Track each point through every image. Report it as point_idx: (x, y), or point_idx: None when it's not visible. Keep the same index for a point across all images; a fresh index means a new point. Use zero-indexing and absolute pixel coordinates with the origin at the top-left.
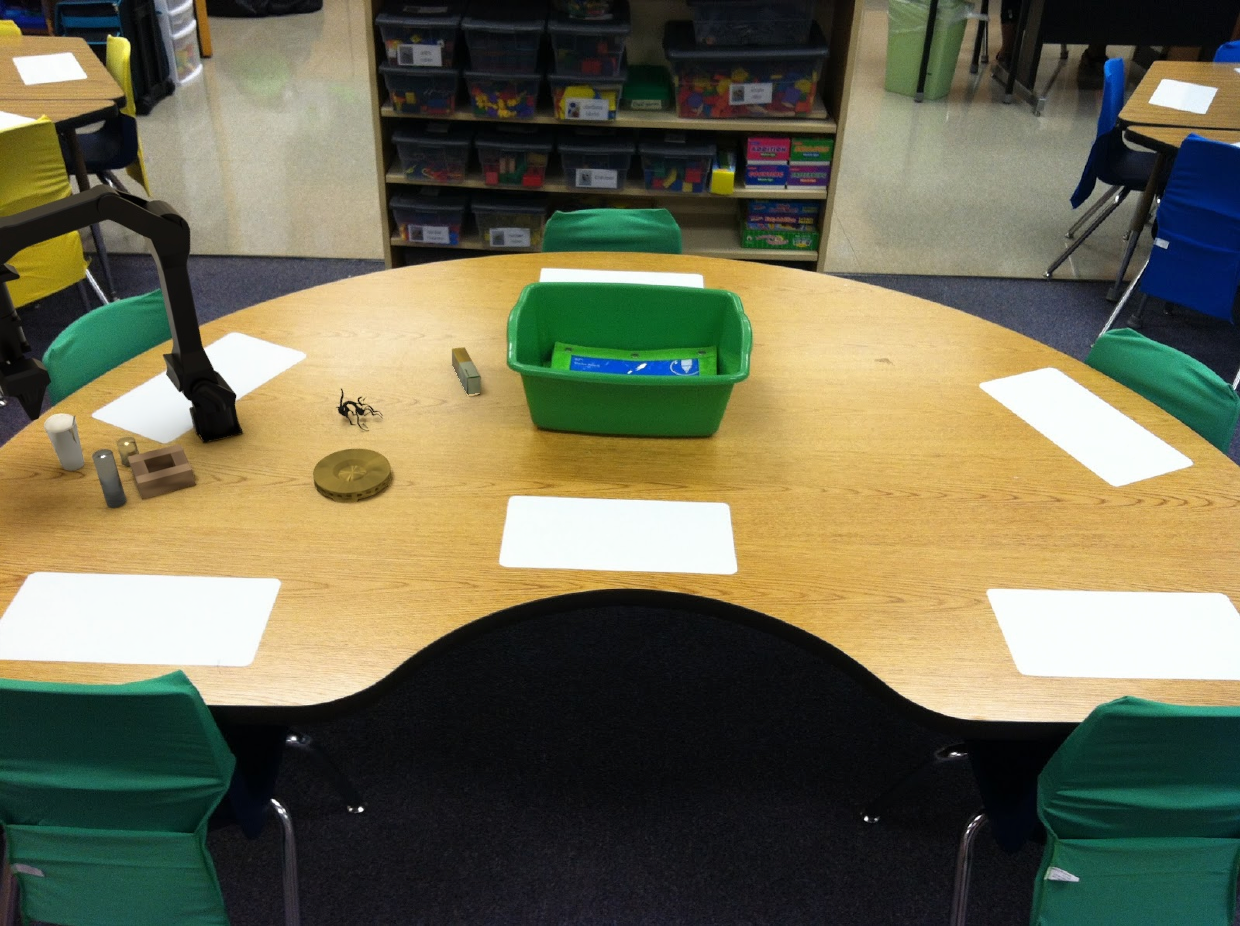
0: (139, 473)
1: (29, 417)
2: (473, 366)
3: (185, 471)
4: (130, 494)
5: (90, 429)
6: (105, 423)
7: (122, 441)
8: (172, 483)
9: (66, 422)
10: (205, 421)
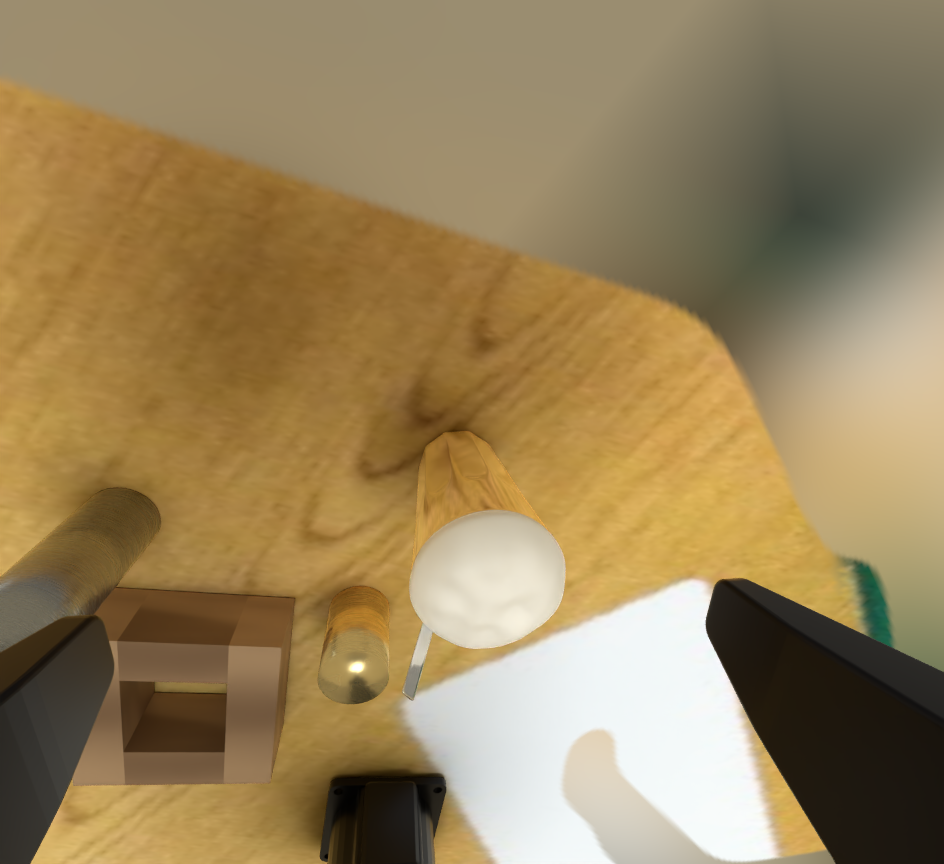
0: (136, 656)
1: (8, 651)
2: None
3: None
4: (155, 564)
5: (629, 558)
6: (628, 599)
7: (361, 669)
8: None
9: (441, 620)
10: (347, 857)
